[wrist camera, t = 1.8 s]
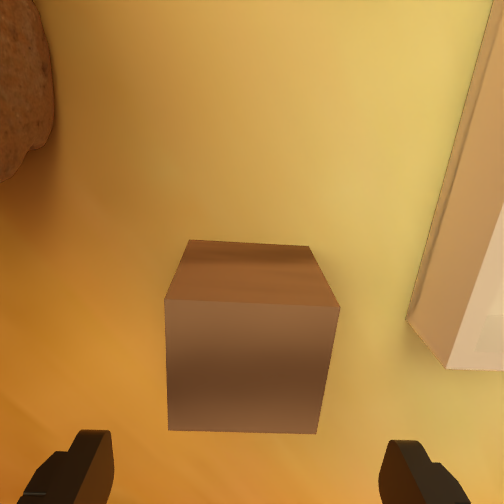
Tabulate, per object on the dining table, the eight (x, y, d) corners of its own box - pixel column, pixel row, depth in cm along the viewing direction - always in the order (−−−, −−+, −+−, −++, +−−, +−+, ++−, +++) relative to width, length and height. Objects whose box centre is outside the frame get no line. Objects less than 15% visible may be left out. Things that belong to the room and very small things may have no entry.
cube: (189, 239, 17) (164, 299, 11) (308, 245, 17) (340, 307, 12) (189, 339, 19) (168, 430, 14) (294, 343, 19) (316, 434, 14)
